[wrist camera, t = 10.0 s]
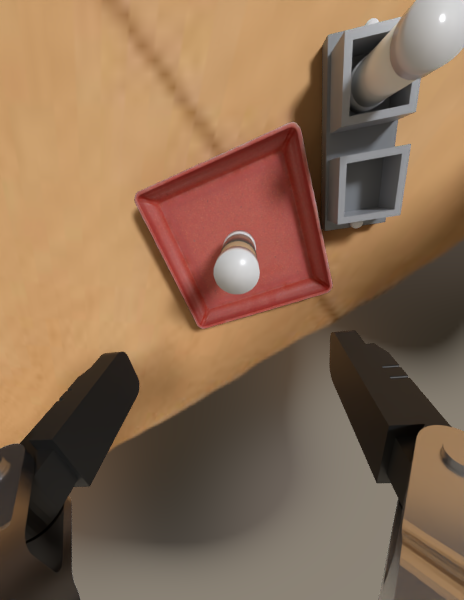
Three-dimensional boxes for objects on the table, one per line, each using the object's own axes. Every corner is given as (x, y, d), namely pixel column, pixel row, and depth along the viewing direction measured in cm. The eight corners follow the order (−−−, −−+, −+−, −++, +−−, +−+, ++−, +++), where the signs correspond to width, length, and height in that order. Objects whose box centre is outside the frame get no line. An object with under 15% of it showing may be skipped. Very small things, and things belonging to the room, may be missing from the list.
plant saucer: (142, 194, 27) (129, 195, 24) (292, 125, 23) (299, 116, 21) (203, 318, 34) (199, 331, 31) (326, 281, 31) (334, 291, 28)
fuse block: (400, 24, 20) (439, -18, 16) (378, 221, 27) (401, 227, 23) (322, 43, 20) (341, 8, 16) (321, 229, 27) (334, 237, 23)
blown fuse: (253, 227, 25) (256, 247, 17) (257, 259, 26) (262, 291, 18) (220, 232, 25) (209, 254, 17) (226, 264, 27) (218, 297, 19)
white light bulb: (388, 55, 19) (489, -37, 11) (383, 108, 21) (468, 60, 13) (344, 66, 20) (410, -16, 12) (342, 117, 21) (400, 75, 13)
